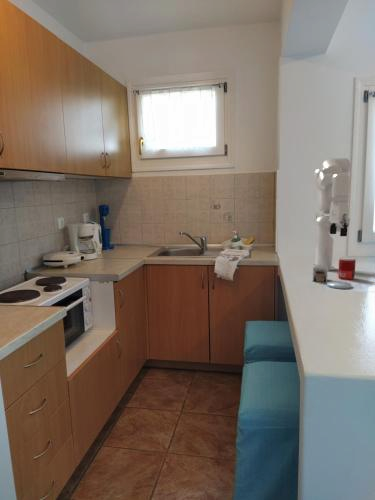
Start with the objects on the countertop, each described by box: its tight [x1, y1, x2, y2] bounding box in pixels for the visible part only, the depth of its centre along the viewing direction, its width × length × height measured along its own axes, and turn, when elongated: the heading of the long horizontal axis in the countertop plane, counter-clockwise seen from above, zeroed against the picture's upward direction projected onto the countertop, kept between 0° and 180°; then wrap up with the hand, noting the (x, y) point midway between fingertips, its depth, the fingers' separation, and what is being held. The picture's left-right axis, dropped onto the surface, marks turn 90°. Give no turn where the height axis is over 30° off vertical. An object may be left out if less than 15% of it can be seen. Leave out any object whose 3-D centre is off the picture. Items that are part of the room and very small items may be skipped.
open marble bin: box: [312, 264, 329, 283], centre depth 190 cm, size 7×7×8 cm
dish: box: [326, 280, 352, 290], centre depth 178 cm, size 11×11×1 cm
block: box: [315, 272, 325, 282], centre depth 191 cm, size 4×4×4 cm
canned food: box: [337, 256, 357, 281], centre depth 194 cm, size 8×8×11 cm
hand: (338, 235), depth 178 cm, fingers open, 9 cm apart
